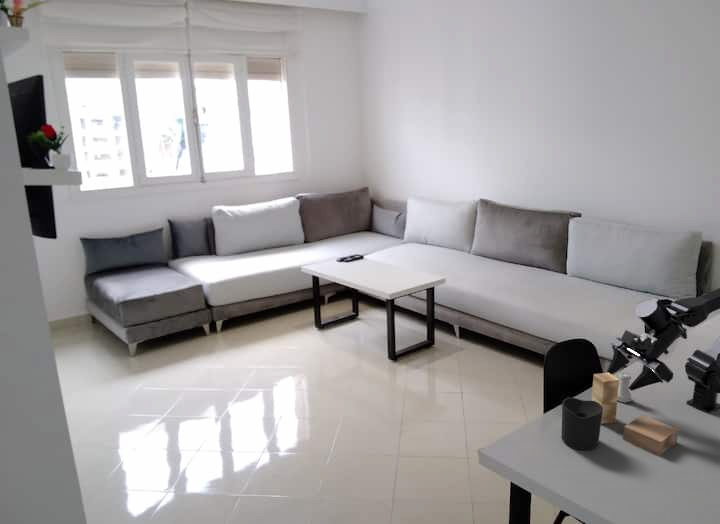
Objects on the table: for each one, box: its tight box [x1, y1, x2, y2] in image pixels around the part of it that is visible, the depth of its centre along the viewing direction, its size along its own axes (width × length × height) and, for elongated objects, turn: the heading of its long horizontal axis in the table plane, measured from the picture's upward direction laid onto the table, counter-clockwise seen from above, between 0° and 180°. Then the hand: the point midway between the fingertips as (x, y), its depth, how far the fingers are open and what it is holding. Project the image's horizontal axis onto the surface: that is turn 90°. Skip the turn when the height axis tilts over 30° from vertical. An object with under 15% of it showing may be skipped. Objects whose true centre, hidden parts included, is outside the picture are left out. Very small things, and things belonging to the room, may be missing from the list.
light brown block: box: [622, 414, 679, 456], centre depth 137 cm, size 9×9×4 cm
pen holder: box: [561, 396, 603, 451], centre depth 137 cm, size 9×9×10 cm
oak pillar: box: [590, 372, 620, 425], centre depth 147 cm, size 4×4×12 cm
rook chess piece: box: [617, 372, 632, 404], centre depth 157 cm, size 4×4×8 cm
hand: (618, 381), depth 146 cm, fingers open, 9 cm apart
